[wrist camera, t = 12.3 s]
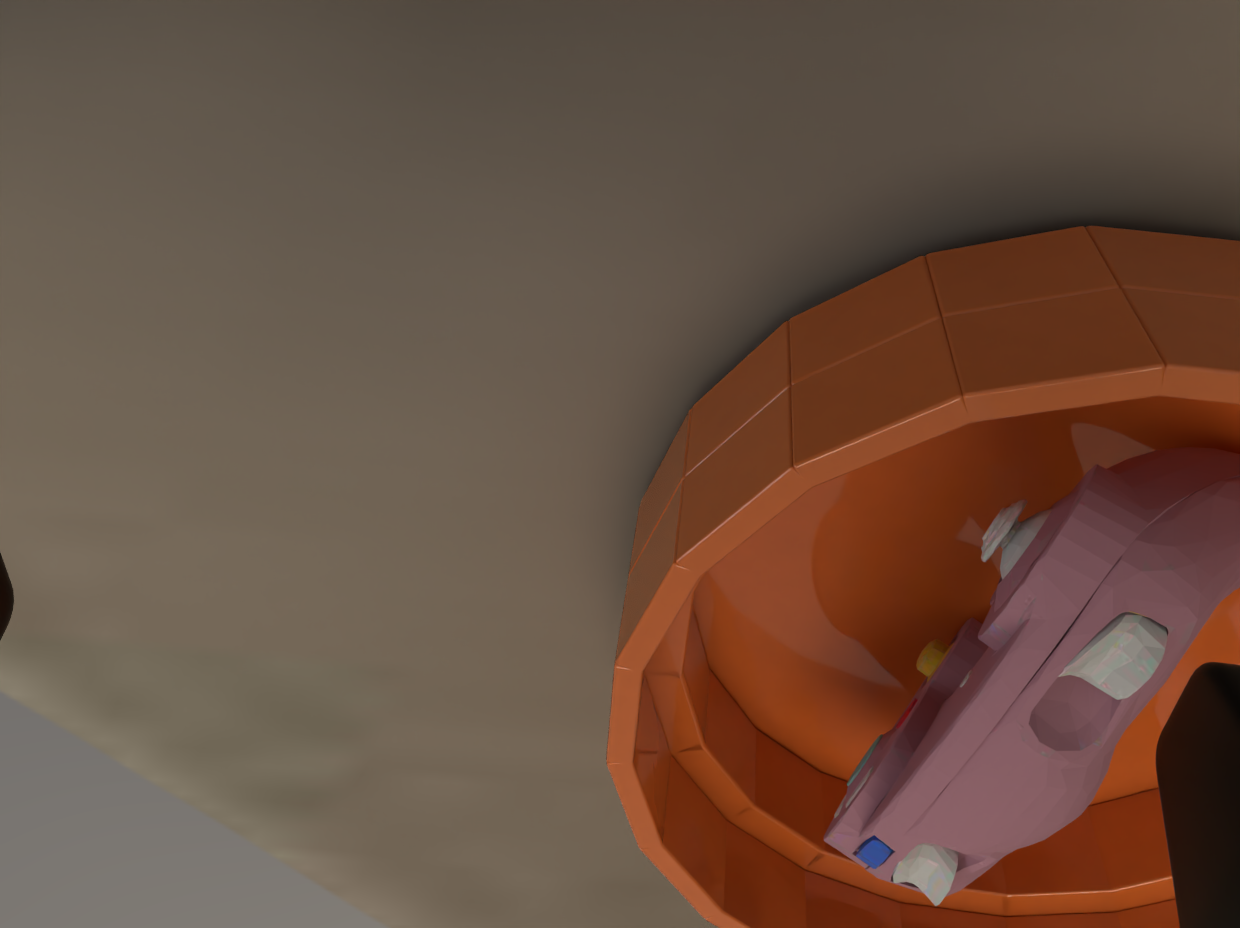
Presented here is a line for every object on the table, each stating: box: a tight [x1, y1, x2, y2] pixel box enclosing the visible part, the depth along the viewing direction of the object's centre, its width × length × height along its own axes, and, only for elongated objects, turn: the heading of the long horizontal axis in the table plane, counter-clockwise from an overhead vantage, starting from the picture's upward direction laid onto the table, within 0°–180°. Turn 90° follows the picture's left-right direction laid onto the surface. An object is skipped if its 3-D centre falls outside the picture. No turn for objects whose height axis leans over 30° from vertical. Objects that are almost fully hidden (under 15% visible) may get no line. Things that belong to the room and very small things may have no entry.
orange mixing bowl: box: [606, 226, 1240, 928], centre depth 21 cm, size 16×16×5 cm
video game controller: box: [824, 447, 1240, 906], centre depth 20 cm, size 10×5×7 cm, turn 162°
